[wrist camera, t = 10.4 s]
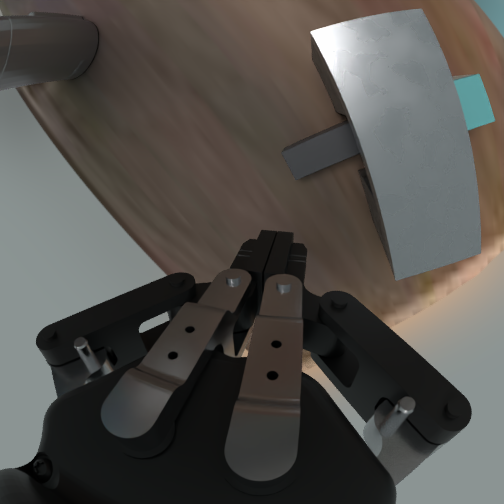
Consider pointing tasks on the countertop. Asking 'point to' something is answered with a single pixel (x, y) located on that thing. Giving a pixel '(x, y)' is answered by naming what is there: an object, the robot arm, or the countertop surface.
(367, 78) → the housing
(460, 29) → the countertop surface
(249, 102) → the countertop surface
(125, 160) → the countertop surface
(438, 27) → the countertop surface
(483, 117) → the plug
